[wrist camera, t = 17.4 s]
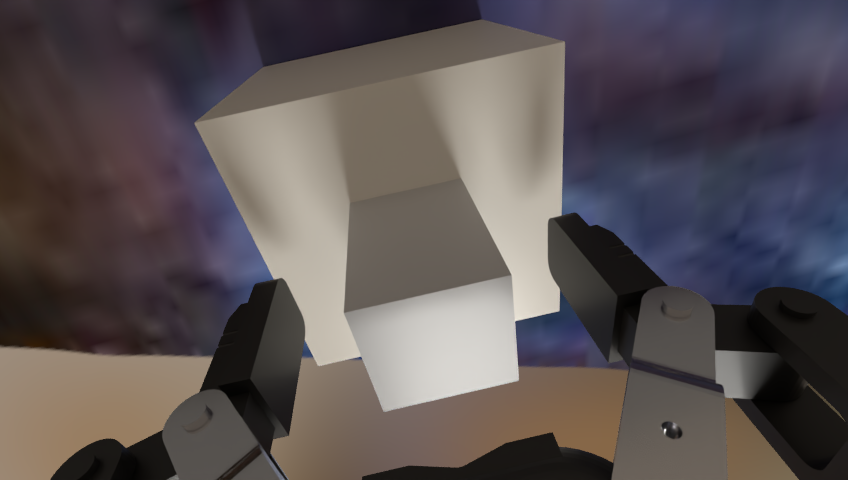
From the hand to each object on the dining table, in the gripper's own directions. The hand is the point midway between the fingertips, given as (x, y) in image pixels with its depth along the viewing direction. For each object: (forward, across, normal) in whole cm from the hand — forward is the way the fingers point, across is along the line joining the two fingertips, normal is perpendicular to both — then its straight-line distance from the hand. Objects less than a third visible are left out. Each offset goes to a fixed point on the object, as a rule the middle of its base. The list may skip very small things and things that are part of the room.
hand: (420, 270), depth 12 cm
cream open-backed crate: (+11, 0, 0) cm, 11 cm away
